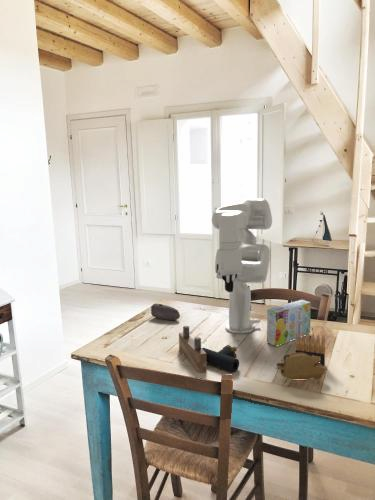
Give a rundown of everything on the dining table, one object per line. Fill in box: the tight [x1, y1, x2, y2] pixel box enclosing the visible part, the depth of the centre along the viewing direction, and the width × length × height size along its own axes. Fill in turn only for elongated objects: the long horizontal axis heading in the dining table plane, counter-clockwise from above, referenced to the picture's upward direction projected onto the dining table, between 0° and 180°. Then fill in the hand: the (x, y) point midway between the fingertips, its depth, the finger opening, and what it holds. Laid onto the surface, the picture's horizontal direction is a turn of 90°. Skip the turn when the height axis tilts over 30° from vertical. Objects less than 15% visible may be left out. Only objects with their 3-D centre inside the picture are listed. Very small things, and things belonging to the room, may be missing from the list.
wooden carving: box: [275, 352, 327, 380], centre depth 138 cm, size 16×5×10 cm, turn 91°
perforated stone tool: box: [150, 303, 181, 321], centre depth 197 cm, size 15×5×7 cm, turn 63°
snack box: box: [266, 299, 312, 347], centre depth 170 cm, size 21×6×15 cm, turn 124°
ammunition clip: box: [294, 332, 326, 366], centre depth 148 cm, size 11×2×12 cm, turn 69°
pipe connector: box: [201, 344, 240, 373], centre depth 152 cm, size 12×5×15 cm
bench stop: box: [178, 325, 207, 374], centre depth 153 cm, size 3×21×11 cm, turn 20°
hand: (229, 291), depth 160 cm, fingers closed
